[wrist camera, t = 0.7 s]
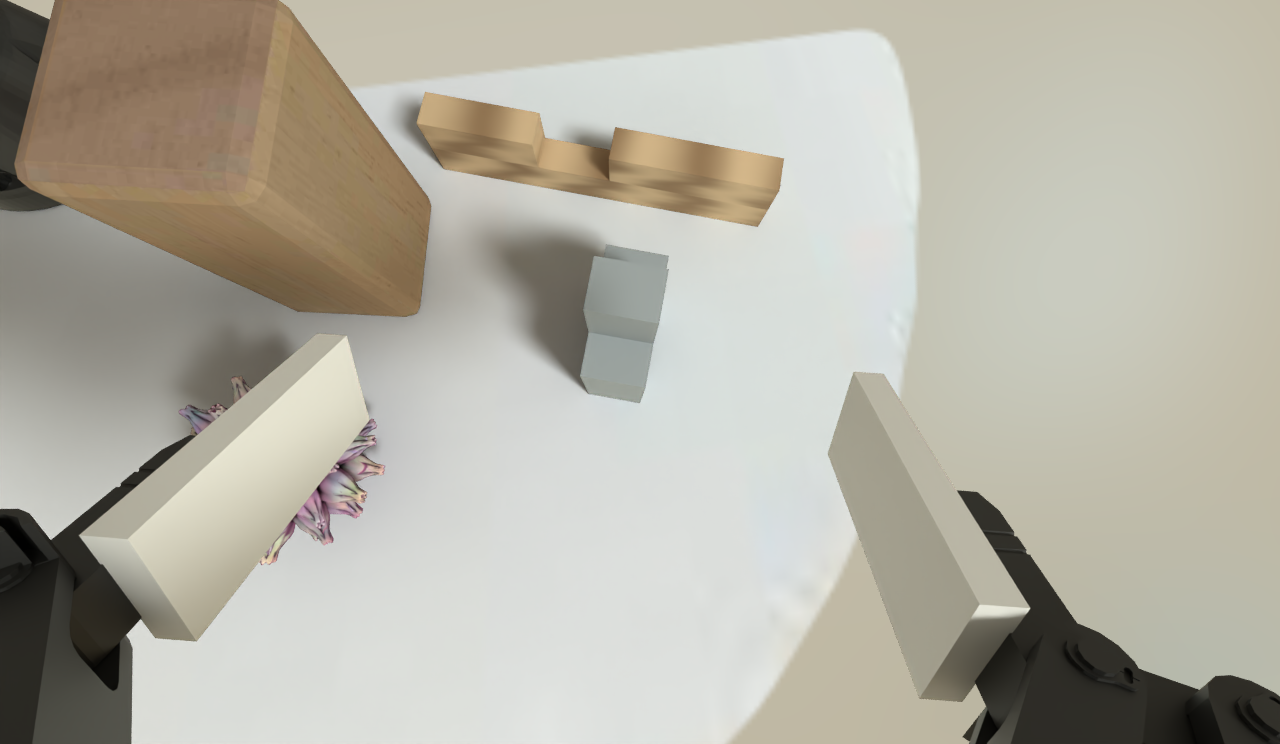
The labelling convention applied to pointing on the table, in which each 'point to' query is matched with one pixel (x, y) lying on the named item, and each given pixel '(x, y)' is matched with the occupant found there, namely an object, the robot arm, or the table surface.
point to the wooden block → (226, 151)
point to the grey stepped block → (622, 321)
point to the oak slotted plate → (601, 162)
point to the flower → (330, 494)
